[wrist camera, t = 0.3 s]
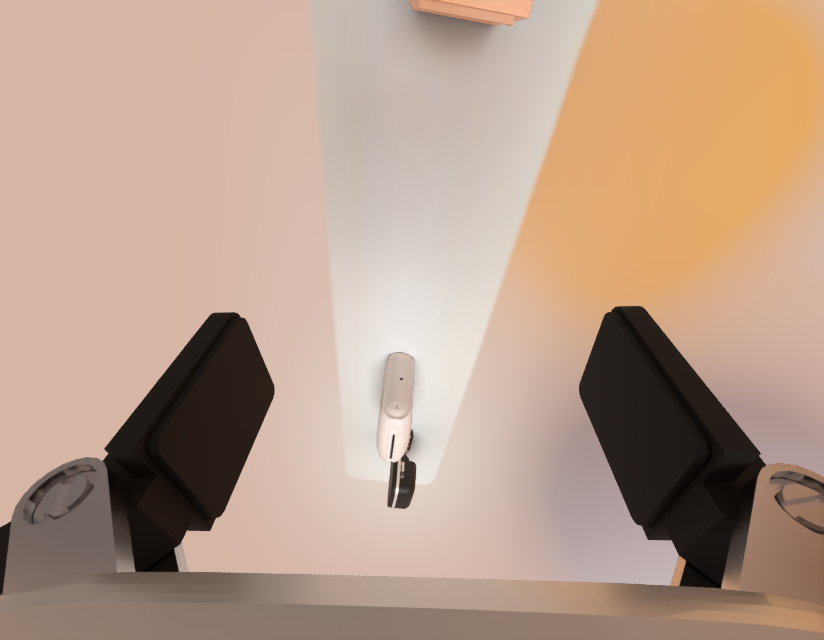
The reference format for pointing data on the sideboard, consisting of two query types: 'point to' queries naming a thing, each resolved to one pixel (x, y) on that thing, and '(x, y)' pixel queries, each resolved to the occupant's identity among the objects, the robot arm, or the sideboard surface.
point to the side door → (477, 10)
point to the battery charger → (402, 481)
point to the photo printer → (396, 407)
